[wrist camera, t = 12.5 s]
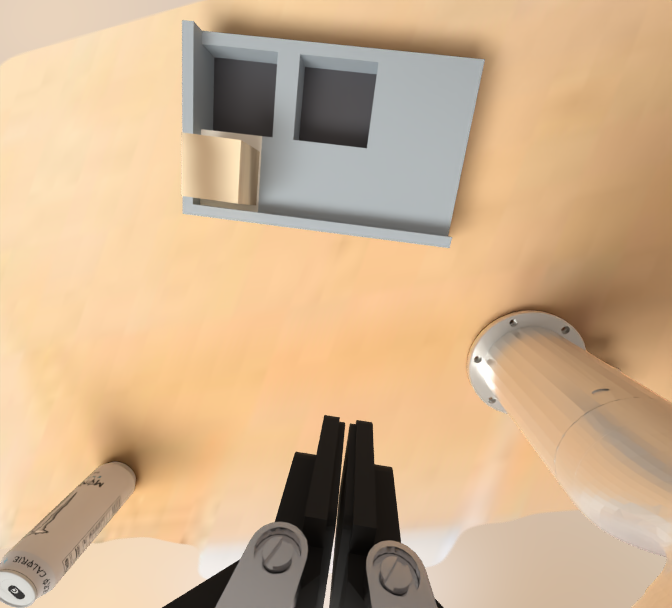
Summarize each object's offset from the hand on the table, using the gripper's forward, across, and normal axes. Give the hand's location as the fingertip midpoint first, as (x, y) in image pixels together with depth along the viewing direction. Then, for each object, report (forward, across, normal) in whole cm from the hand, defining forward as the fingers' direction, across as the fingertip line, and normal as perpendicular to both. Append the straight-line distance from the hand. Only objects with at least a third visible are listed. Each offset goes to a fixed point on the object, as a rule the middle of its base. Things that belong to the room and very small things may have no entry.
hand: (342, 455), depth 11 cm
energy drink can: (+27, +30, +32) cm, 52 cm away
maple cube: (+24, +14, -10) cm, 30 cm away
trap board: (+27, +5, -14) cm, 31 cm away
